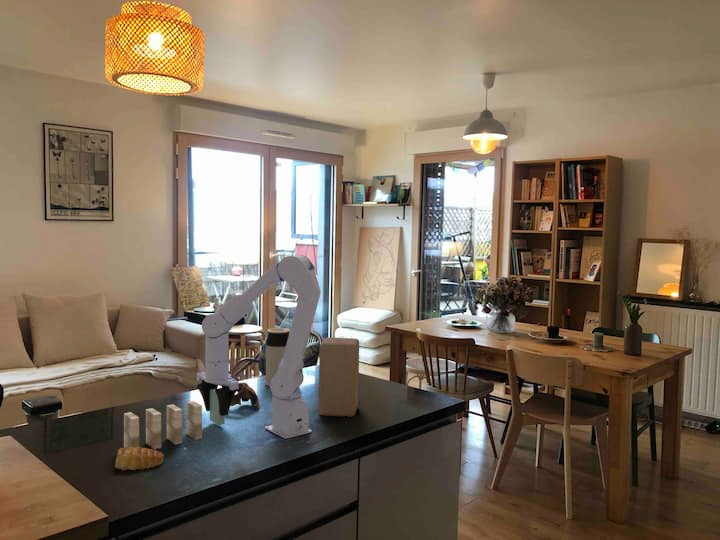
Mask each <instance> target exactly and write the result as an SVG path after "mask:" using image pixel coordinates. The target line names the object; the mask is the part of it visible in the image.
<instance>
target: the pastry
mask: <svg viewBox="0 0 720 540" xmlns="http://www.w3.org/2000/svg"><path fill="white" fill-rule="evenodd" d="M163 462H164V453H162V452H160V451H159V450H156V449H153V448H148V447H141V446H140V445H139V446H138V447H135V448H134V447H129V448H127V449H126V448H124V447H120V448H119V449H118V451H117V454H116V458H115V465H114V467H115V468H116V469H118V470H120V469H121V470H120V471H126V470H131V471H137V470H136V469H138V470H145V468H146V469H150V467H151V468H154V467H156V466H161V464H162V463H163Z"/></svg>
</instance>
